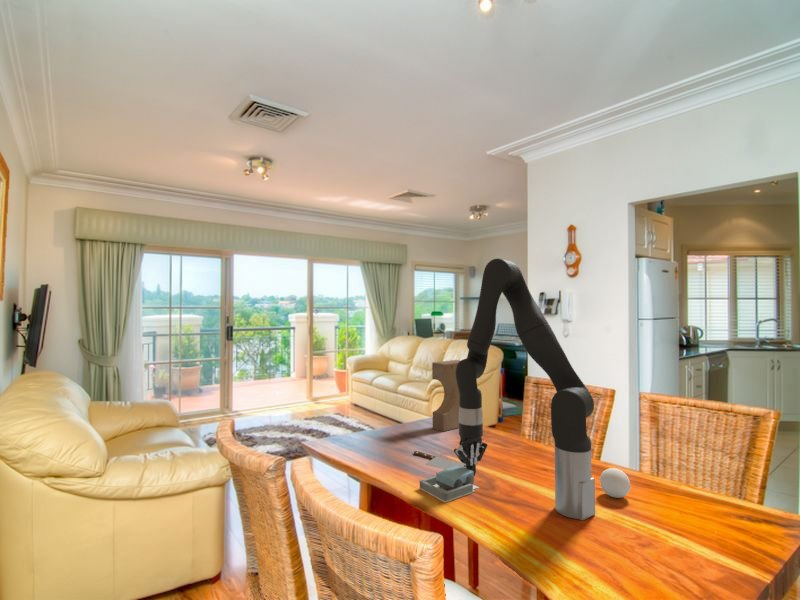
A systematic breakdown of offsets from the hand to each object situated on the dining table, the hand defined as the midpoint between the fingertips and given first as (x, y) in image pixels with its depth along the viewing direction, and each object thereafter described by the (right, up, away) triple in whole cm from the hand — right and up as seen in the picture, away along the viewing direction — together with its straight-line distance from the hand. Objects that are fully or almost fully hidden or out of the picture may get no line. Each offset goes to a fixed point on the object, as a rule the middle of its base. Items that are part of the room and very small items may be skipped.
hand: (471, 475), depth 136 cm
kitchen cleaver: (-9, -3, +17) cm, 19 cm away
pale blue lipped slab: (-6, -1, -5) cm, 8 cm away
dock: (-7, -2, -5) cm, 9 cm away
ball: (+40, -2, -11) cm, 42 cm away
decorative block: (0, -3, +61) cm, 61 cm away
